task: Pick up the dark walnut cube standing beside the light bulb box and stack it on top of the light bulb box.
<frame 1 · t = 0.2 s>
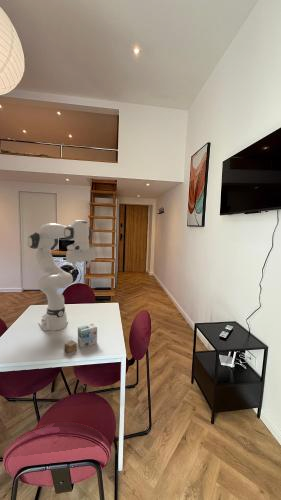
hand: (81, 268, 137), 47 cm above the table, fingers open, 8 cm apart
light bulb box: (87, 343, 139), on the table
walnut cube: (70, 351, 129), on the table
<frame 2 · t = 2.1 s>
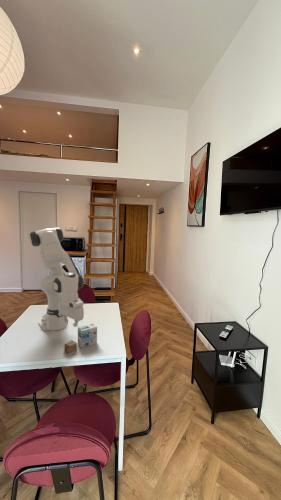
hand: (70, 324, 128), 17 cm above the table, fingers open, 8 cm apart
nothing on the table moved.
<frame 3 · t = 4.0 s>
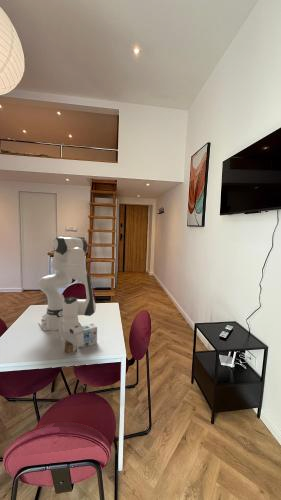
hand: (70, 348, 129), 2 cm above the table, fingers closed on walnut cube, 5 cm apart
walnut cube: (70, 350, 129), on the table, touching gripper
everything else where it was.
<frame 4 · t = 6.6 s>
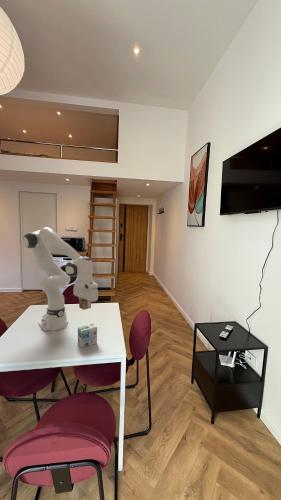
hand: (85, 305, 135), 25 cm above the table, fingers closed on walnut cube, 5 cm apart
walnut cube: (85, 307, 135), point 23 cm above the table, touching gripper
everything else where it was.
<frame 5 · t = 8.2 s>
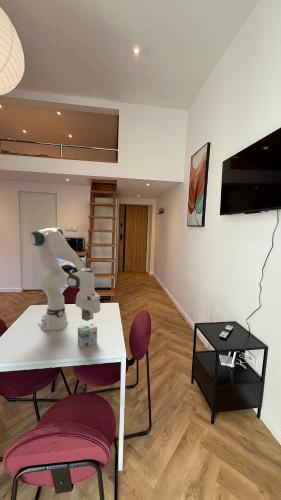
hand: (87, 316, 137), 18 cm above the table, fingers closed on walnut cube, 5 cm apart
walnut cube: (87, 318, 137), point 16 cm above the table, touching gripper
everything else where it was.
when the fingers open (14 cm above the table, at t = 9.4 s): walnut cube drops 1 cm, resting on light bulb box.
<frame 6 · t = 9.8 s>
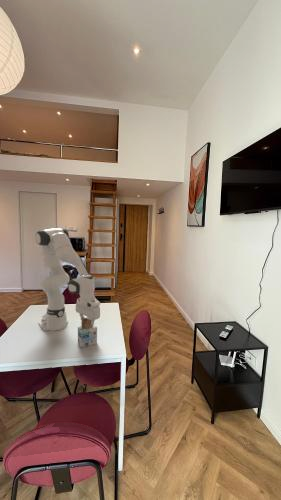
hand: (87, 322, 137), 14 cm above the table, fingers open, 8 cm apart
light bulb box: (87, 343, 138), on the table, touching walnut cube
walnut cube: (87, 326, 138), point 11 cm above the table, touching light bulb box
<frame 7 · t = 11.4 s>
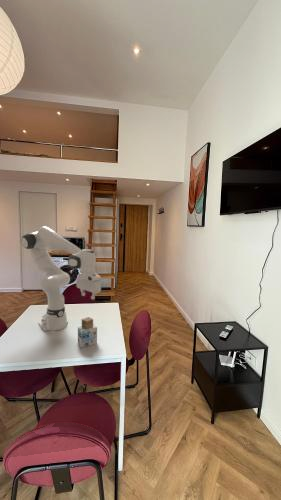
hand: (88, 297, 137), 29 cm above the table, fingers open, 8 cm apart
nothing on the table moved.
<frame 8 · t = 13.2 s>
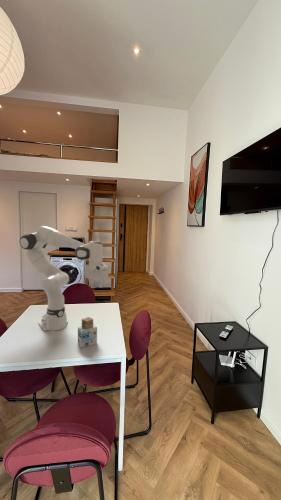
hand: (95, 286, 146), 34 cm above the table, fingers open, 8 cm apart
nothing on the table moved.
at the end: walnut cube inside the target area in the light bulb box (0.1 cm from its centre), point 11.0 cm above the light bulb box's base; walnut cube point 10.7 cm above the table; walnut cube tilted 0° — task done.
